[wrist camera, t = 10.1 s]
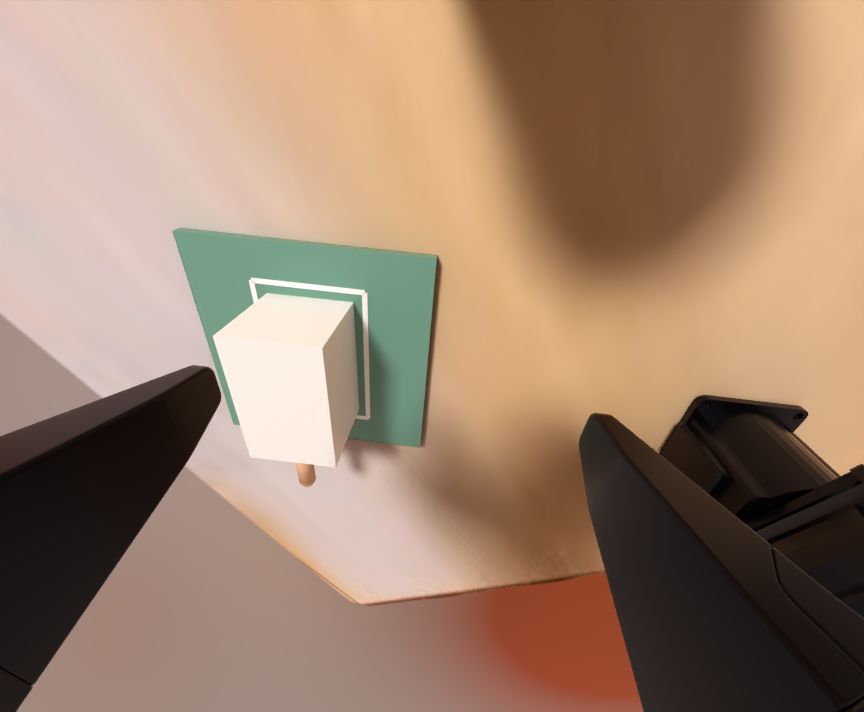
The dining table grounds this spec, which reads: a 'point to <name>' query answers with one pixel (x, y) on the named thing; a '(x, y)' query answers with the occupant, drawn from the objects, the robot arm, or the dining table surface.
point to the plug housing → (293, 378)
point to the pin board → (334, 280)
